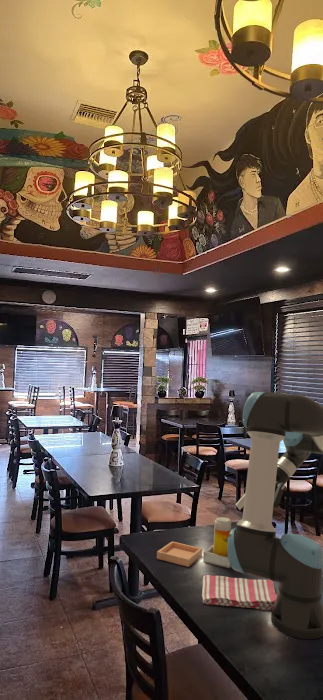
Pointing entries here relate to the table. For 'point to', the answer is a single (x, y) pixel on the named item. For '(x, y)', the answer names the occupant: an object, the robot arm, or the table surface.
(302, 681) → the table surface
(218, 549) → the beer can
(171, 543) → the serving tray
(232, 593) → the dish towel
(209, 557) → the frame
